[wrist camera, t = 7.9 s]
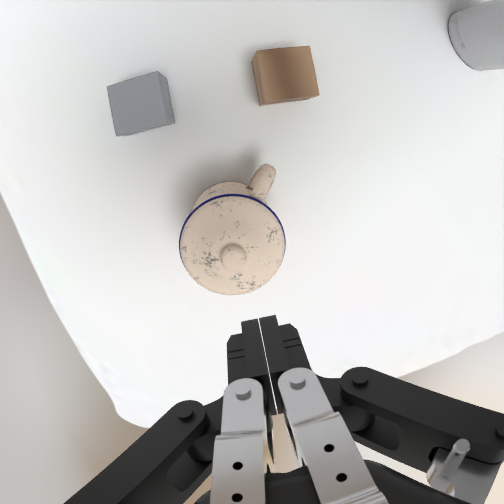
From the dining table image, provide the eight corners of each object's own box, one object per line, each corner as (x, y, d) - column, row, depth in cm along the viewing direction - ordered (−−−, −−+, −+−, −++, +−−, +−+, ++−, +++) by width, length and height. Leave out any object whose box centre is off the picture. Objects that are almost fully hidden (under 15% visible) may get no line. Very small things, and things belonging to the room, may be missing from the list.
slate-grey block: (166, 79, 29) (157, 71, 25) (175, 123, 31) (167, 122, 26) (122, 92, 29) (106, 86, 24) (130, 135, 31) (116, 136, 26)
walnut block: (297, 56, 29) (309, 45, 25) (306, 99, 31) (319, 95, 27) (251, 62, 29) (256, 50, 25) (260, 105, 31) (266, 101, 27)
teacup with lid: (246, 271, 38) (256, 328, 27) (175, 237, 35) (156, 284, 25) (299, 181, 34) (334, 205, 24) (225, 140, 32) (227, 143, 21)
